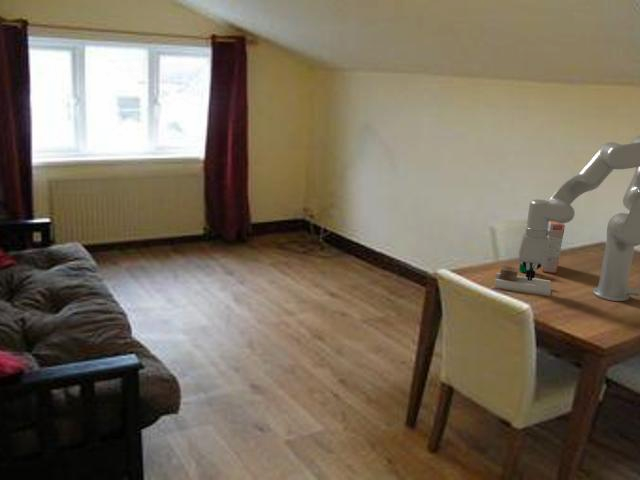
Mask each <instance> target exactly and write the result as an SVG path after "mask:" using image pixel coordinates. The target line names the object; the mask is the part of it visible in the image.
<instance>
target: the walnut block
mask: <svg viewBox="0 0 640 480" xmlns="http://www.w3.org/2000/svg"><path fill="white" fill-rule="evenodd" d="M518 271H519V267H515V266H507V265H501V268H500V273H501V274H500V279H501V280H507V281H514V282H516V279H517V276H518Z"/></svg>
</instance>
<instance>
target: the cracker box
mask: <svg viewBox="0 0 640 480" xmlns="http://www.w3.org/2000/svg"><path fill="white" fill-rule="evenodd" d="M565 227H566V225H565V223H557V222H553V221H549V224H548V231H549V232H551V235H548V236H547V237H548V239H549V247H548V257H547V267H540V269H541V271H542V272H543V273H544V272H545V273H550V274H557V271H558V267H559V266H558V265H559V262H560V256H561V251H562V244H563V238H564V234H565Z"/></svg>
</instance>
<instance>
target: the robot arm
mask: <svg viewBox="0 0 640 480" xmlns="http://www.w3.org/2000/svg"><path fill="white" fill-rule="evenodd" d="M632 168H633V169H634V168H635V171H634V174H633V175H632V179H631V181H630V183H629V185H628V187H627V189H626V191H625V193H624V196H623V198H622V203H623V206H624V208H626V209H627V210H628V211H629V212H628V213H627V212H626V213H625V212H618V213H617V214H614V215H612V217H611V218H609V220H608V222H607V227H606V243H605V249H604V255H603V260H602V265H601V270H600V275H599V280H598V286H596V287H594V288H593V289H592V294H593V295H595V296H596V297H599V298H600V299H603V300H608V301H613V302H614V301H615V302H626V301H628V300H629V299H630V295H632V296H638V297H639V296H640V290H637V289H636V288H630V287H629V286H628V282H629V281H628V280H629V277H630V273H631V267H632V261H633V257H634V251H635V247H638V246H640V135H637V136H635V137H633V138H632V140H631V141H630V143H626V144H620V143H618V142H613V141H609V142H605V143H604V144H602V145H601V146H600V147H599V148H598V149H597V151H596V152H594V154H592V156H591V158H589V160H588V161H587V162H586V163H585V165H584V166H583V167H582V168H581V169H580V170H579V171H578V172H577V173H576V174H575V175H573V176H571V178H569V179H568V180H566V181H565V182H564V183H563V184H562V185H560V186H559V188H558V189H557V190H556V191H555V192H554V194H552V195H551V197H550V198H549V200H545V199H537V198H536V199H531V201H530V202H529V206H528V207H529V208H528V214H527V220H526V221H527V222H526V228H525V233H523V236H522V237H521V239H520V240H521V241H520V246H519V251H518V259H517V261H516V262H517V264H519V265H520V264H522V265H524V267H525V268H526V269H527V272H526V273H525V277H527V278H528V279H527V280H528V281H529V280H530V281H532V278H535V275H536V271H538V269H541V267H547V257H548V247H549V239H548V237H547V236H548V235H551V232H549V231H548V224H549V221H553V222H557V223H563V224H567V223H570V222H571V221H572V220H573V219H574V217H575V208H573V206H572V205H571V204H572V203H573V202H575V200H576V199H577V198H578V197H580V196H582V195H583V194H585V193H589V192H590V191H591V192H592V191H594V190H596V189H597V188H598V187H600V186H601V184H602V183H603V182H604V181H605V180H606V179H607V178H608V177H609V175H610V174H611V173H613V171H614V170H626V169H632ZM530 263H533V267H532V269H530Z"/></svg>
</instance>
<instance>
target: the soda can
mask: <svg viewBox="0 0 640 480" xmlns="http://www.w3.org/2000/svg"><path fill="white" fill-rule="evenodd" d="M533 265H534V263H530V269H532V268H533ZM518 271H519V272H520V273H523V274H526V272H527V269H526V268H525V267H524V265H522V264H519V267H518Z"/></svg>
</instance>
